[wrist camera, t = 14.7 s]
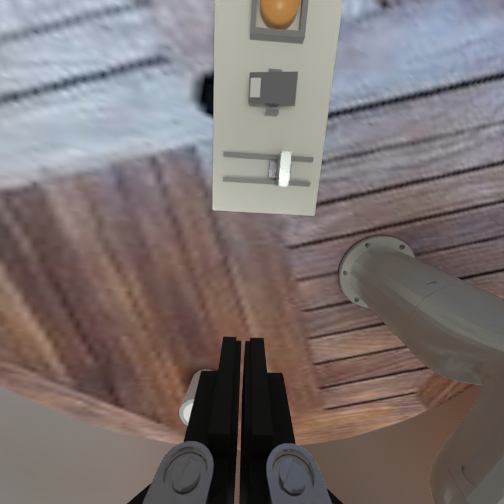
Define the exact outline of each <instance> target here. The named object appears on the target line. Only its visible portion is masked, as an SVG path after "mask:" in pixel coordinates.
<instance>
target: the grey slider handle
mask: <svg viewBox="0 0 504 504" xmlns="http://www.w3.org/2000/svg"><path fill="white" fill-rule="evenodd" d="M291 154H292V151H281V152H280V153H278V157H277V162H269V175H268V177H269V178H276V181H275V186H285V187H288V184H289V179H291V171H292V163H291Z"/></svg>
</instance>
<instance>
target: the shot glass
mask: <svg viewBox="0 0 504 504" xmlns="http://www.w3.org/2000/svg"><path fill="white" fill-rule="evenodd" d="M203 370H205V371H213V370H210V369H203ZM201 371H202V370H200V371H198V372H196V373H195V374H194V376H193V378H192V380H191V383H190V385H189V388H188V390H187V393H186V395H185V398H184V400H183V403H182V405H181V408H180V410H179V413H180V418H181V420H182V422H183V423H184V424H186V425H187V426H188V422H189V418H190V414H191V410H192V406H193V402H194V398H195V393H196V389H197V385H198V381H199V377H200V373H201Z"/></svg>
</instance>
